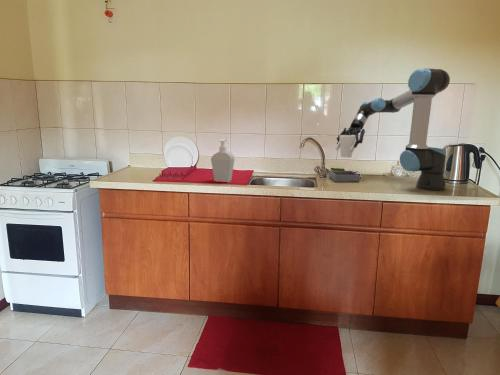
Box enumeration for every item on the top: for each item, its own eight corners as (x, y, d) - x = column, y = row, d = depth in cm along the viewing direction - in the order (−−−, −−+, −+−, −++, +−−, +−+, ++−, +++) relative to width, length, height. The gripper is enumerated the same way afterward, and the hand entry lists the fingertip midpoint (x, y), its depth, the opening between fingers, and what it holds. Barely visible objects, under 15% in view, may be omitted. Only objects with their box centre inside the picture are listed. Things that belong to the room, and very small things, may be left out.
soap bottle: (235, 180, 235) (235, 138, 229) (231, 183, 225) (230, 140, 220) (216, 179, 237) (215, 138, 232) (211, 182, 228) (210, 139, 222)
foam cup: (350, 158, 229) (351, 136, 226) (336, 157, 234) (337, 135, 231) (356, 156, 236) (357, 135, 234) (342, 155, 242) (343, 134, 239)
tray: (358, 182, 230) (359, 175, 229) (335, 182, 230) (335, 175, 229) (351, 177, 245) (352, 170, 244) (329, 177, 244) (329, 170, 243)
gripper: (376, 127, 235) (362, 155, 227) (344, 126, 250) (330, 152, 242) (373, 119, 230) (358, 147, 222) (341, 118, 245) (326, 144, 237)
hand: (343, 150), depth 232 cm, fingers closed on foam cup, 9 cm apart
